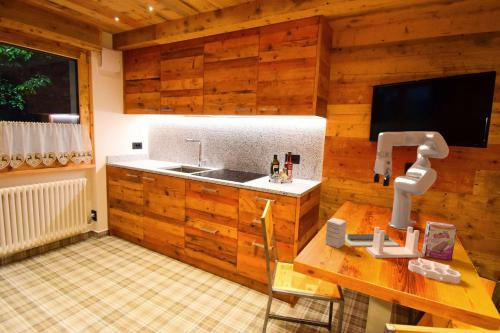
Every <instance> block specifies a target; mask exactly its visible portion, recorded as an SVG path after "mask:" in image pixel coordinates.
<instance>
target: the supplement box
mask: <svg viewBox="0 0 500 333" xmlns="http://www.w3.org/2000/svg"><path fill="white" fill-rule="evenodd" d="M345 234H347V221H346V220H344V219H340V218H336V217H333V218H330V219H329V220H326V232H325V245H328V246H330V247H334V248H336V249H339V248H341V247H342V246H345V244H346V242H345Z"/></svg>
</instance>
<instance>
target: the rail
mask: <svg viewBox="0 0 500 333" xmlns="http://www.w3.org/2000/svg"><path fill="white" fill-rule="evenodd" d="M347 234H348V237H347V239H348V240H373V238H374V233H360V234H359V233H356V234H355V233H353V234H352V233H350V234H349V233H347ZM389 238H390V235H389V234H387V233H385V236H384V240H389Z"/></svg>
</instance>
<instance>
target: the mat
mask: <svg viewBox="0 0 500 333" xmlns="http://www.w3.org/2000/svg"><path fill="white" fill-rule="evenodd" d="M348 234H349V233H346V234H345V244H347V245H348V246H349V247H357V248H358V247H364V248H366V247H373V240H348V239H347V237H348ZM383 247H400V244H399V243H397V242H396V241H394V240H393V239H392V238H390V237H389V240H384V246H383Z"/></svg>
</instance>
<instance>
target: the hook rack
mask: <svg viewBox="0 0 500 333" xmlns="http://www.w3.org/2000/svg"><path fill="white" fill-rule="evenodd" d="M380 229H381V228H380V226H374V231H373V234H374V238H373V246H365V251H367V252H368V254H370V255H371V256H372V257H373V258H374V259H383V258H384V259H386V258H388V259H389V258H391V259H392V258H395V259H396V258H398V259H399V258H424V254H423V253H422V252H420V251H419V250H418V245H419V236H420V230H417V229H416V230H413V229H414V227H413V226H411V227H408V229H407V230H406V238H405V246H384V236H385V234H386V230H380Z"/></svg>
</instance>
